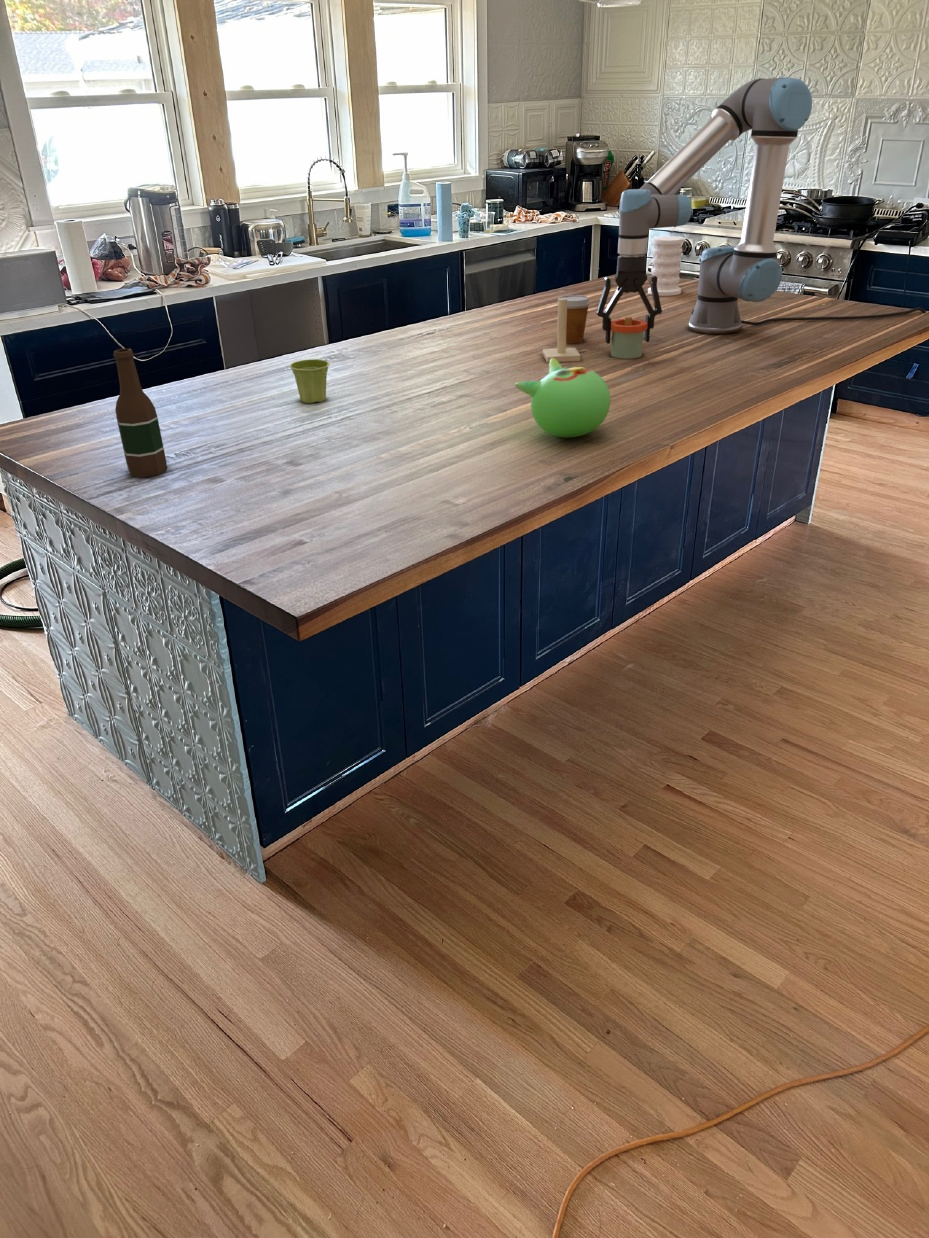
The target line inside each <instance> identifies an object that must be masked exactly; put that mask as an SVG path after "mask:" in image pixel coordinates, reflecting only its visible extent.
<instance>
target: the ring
mask: <svg viewBox="0 0 929 1238" xmlns="http://www.w3.org/2000/svg"><path fill="white" fill-rule="evenodd" d="M647 326H648V323H647V322H646V320H643V319H639V318H632V325H631V326H626V325H625V318H617V319H614V320H612V319H611V332H612V331H614V332H619V333H637V332H643V331H644V332H645V330H647Z"/></svg>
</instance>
